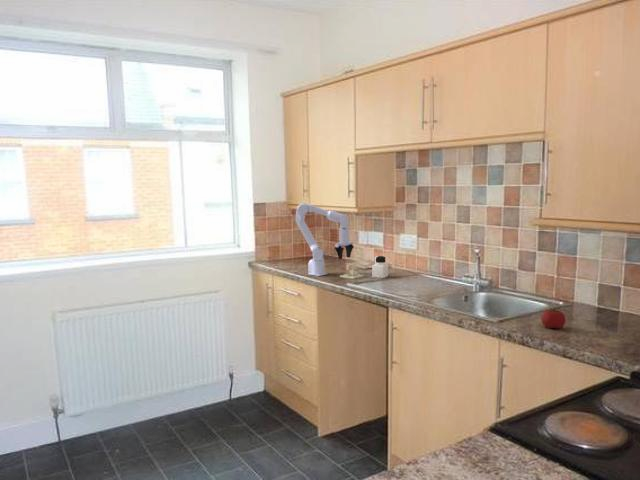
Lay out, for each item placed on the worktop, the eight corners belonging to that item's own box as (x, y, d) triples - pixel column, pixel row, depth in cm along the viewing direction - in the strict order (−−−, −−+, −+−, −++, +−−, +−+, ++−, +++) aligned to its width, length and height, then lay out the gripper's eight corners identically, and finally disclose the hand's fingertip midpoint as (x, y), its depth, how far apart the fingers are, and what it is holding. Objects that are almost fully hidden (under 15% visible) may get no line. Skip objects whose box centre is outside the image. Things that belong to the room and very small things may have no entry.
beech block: (346, 275, 291) (346, 265, 291) (351, 274, 295) (351, 264, 294) (352, 276, 288) (352, 266, 288) (357, 275, 292) (357, 265, 291)
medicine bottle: (388, 276, 292) (388, 255, 290) (383, 278, 286) (383, 257, 284) (377, 275, 295) (377, 255, 294) (371, 277, 289) (371, 256, 288)
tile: (339, 276, 291) (339, 275, 291) (350, 274, 299) (350, 273, 299) (353, 278, 285) (353, 277, 285) (363, 276, 292) (363, 275, 292)
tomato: (548, 323, 191) (549, 305, 190) (569, 328, 185) (570, 309, 184) (536, 327, 186) (537, 308, 185) (557, 332, 180) (558, 312, 179)
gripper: (341, 236, 289) (341, 260, 290) (357, 234, 299) (357, 257, 301) (332, 236, 293) (332, 259, 295) (347, 234, 304) (348, 256, 306)
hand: (344, 258), depth 298 cm, fingers open, 7 cm apart
